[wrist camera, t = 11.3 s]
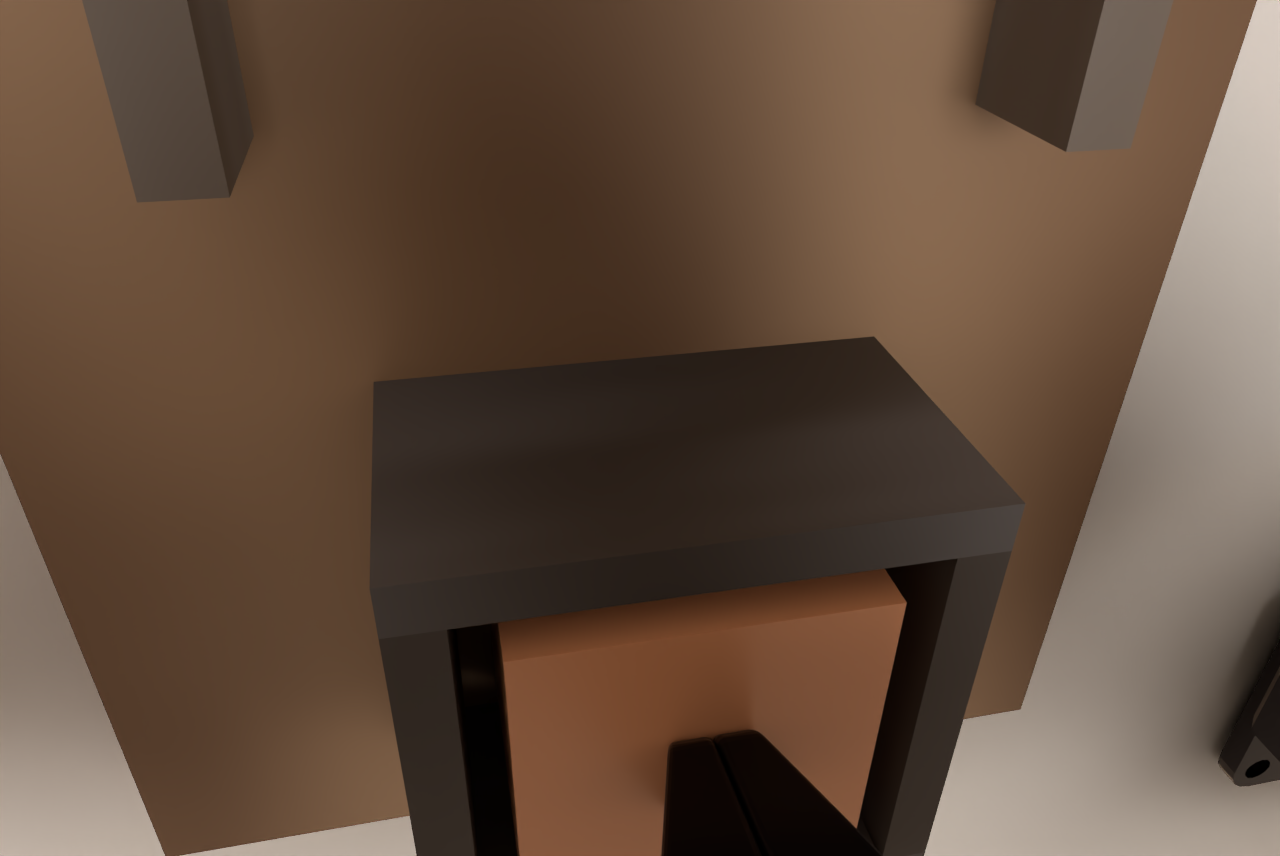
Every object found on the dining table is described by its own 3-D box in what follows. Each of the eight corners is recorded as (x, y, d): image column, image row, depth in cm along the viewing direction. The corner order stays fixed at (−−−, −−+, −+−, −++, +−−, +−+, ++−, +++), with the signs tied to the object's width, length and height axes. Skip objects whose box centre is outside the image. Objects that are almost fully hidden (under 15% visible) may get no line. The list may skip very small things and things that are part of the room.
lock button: (786, 417, 11) (907, 602, 8) (760, 640, 13) (852, 847, 10) (474, 450, 10) (504, 661, 8) (495, 680, 12) (524, 910, 9)
